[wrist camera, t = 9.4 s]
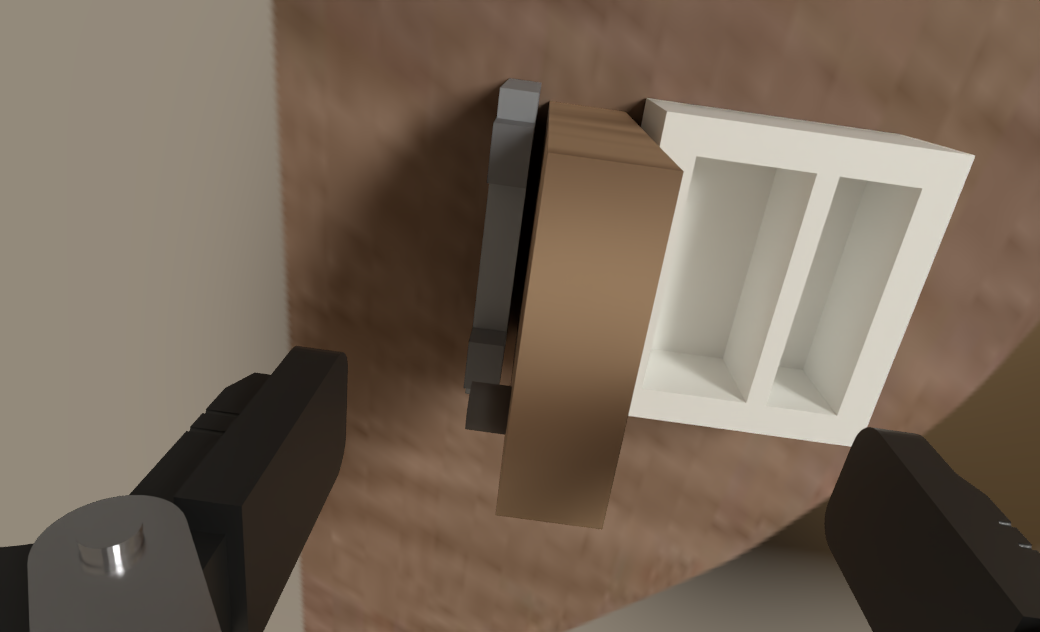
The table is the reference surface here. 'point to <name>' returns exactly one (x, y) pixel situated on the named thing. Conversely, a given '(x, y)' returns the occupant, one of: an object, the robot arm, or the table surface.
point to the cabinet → (753, 264)
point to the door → (580, 315)
